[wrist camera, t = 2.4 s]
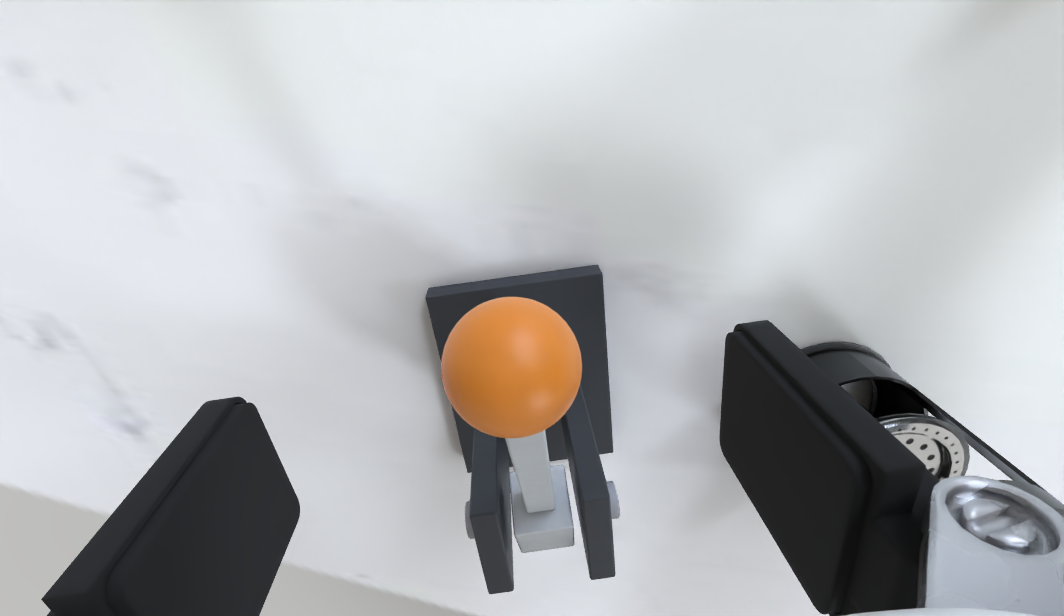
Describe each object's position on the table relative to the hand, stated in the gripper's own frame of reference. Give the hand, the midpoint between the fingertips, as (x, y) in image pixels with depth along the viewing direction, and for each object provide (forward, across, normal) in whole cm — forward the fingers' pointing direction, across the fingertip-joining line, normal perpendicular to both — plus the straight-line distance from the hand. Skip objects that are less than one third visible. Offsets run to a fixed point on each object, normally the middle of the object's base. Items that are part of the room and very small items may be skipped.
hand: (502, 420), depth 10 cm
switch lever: (+5, 0, +4) cm, 7 cm away
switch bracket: (+16, 0, +10) cm, 19 cm away
